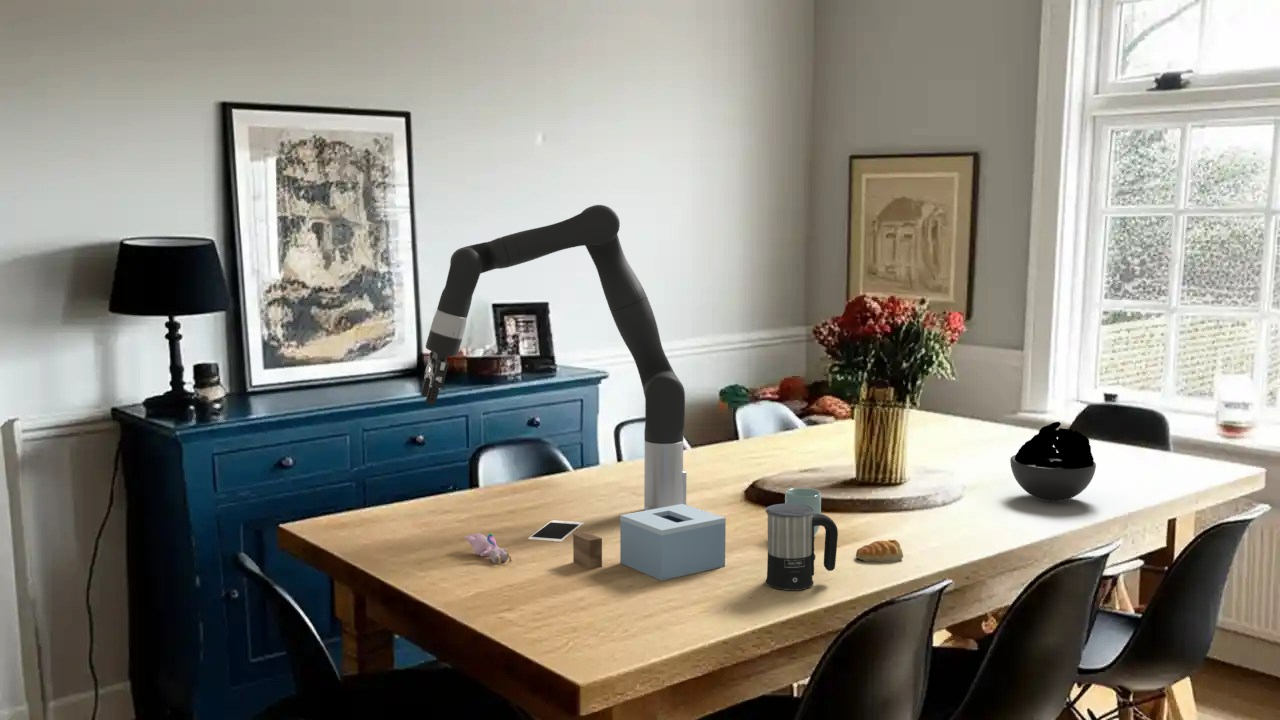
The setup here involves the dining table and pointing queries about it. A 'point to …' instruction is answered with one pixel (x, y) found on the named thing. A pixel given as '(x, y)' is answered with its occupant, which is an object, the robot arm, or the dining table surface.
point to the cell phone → (556, 531)
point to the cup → (805, 499)
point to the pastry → (880, 551)
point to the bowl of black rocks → (1054, 464)
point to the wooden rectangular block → (587, 550)
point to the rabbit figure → (488, 548)
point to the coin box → (672, 541)
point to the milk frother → (796, 545)
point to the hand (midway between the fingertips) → (427, 400)
